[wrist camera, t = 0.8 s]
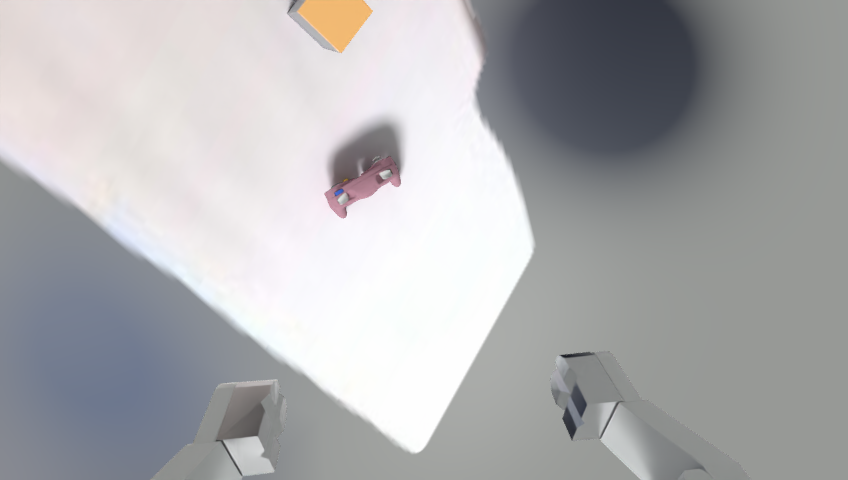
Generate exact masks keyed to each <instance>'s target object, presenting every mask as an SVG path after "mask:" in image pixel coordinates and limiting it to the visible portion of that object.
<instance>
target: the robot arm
mask: <svg viewBox="0 0 848 480" xmlns="http://www.w3.org/2000/svg"><path fill="white" fill-rule="evenodd" d="M555 364H556V366H557V369H555V370H554V371H553V372H552V374H551V378H550V383H551V391H552V395H553V398H554V400H555V403H556V404H557V405H558V406H559V407H560V408H562V409H563V410H564V414H563V418H562V419H563V421H564V424H565V426H566V428H567V430H568V433H569V435H570V437H571V440H572V441H577V440H590V439H601V440H600V441H602V442H603V443H604V444H605V445H606V446H607V447H608V448H609V449H610V450H611V451H612V452H613V453H614V454H615V455H616V456H617V457H618V458H619V459H620V460H621V461H622V462H623V463H624V464H625V465H626V466H627V467H628V468H629V469H630V470H631V471H632V472H633V473H634V474H636V475H637V476H638V477H639V478H640V479H641V480H751V478H750V477H749V476H748V474H747V473H746V472H745V470H744V469H743V468H742V466H741V465H740V464H739V463H738V462H736V461H735V460H734V459H732V458H731V457H729V456H728V455H727V454H725V453H724V452H722V451H721V450H719V449H718V448H716V447H715V446H714V445H712V444H711V443H709V442H708V441H706V440H705V439H703V438H702V437H700V436H699V435H698V434H696V433H695V432H693V431H692V430H690V429H689V428H688V427H686V426H685V425H683V424H682V423H680V422H679V421H677V420H676V419H675V418H673V417H672V416H670V415H669V414H667V413H666V412H664V411H663V410H662V409H660V408H659V407H657V406H656V405H654V404H653V403H651V402H650V401H648V400H642V398H641V397H640V395H639V394H638V392H637V391H636V389H635V388H634V386H633V385H632V383H631V382H630V380H629V378H628V377H627V375H626V374H625V372H624V371H623V369H622V368H621V366H620V365H619V363H618V362H617V360H616V358H615V357H614V356H613V354H612V353H611V352H610V351H599V352H584V353H574V354H565V355H559V356H558V357H557V358H556V361H555ZM279 390H280V384H279V382H278V380H264V381H250V382H234V383H222V384H219V385H218V387H217V388H216V389H215V391H214V393H213V396H212V398H211V401H210V403H209V405H208V408H207V410H206V412H205V415H204V417H203V420H202V422H201V425H200V427H199V430H198V432H197V434H196V437H195V439H194V441H193V444H187V445H186V446H185V447H184V448H182V449H181V450H180V451H179V452H178V453H177V454H176V455H175V456H174V457H173V458H172V459H171V460H170V461H169V462H168V463H167V464H166V465H165V466H164V467H163V468H162V469H161V470H160V471H159V472H158V473H157V474H156V475H155V476H154V477H152V478H151V479H150V480H242V476H247V475H256V474H263V473H271V472H275V469H276V464H277V460H278V455H279V451H280V444H279V442H278V439H277V438H278V437H279V435H280V434H281V433H282V432H283V431H284V428H285V423H286V413H287V407H286V401H285V398H284V396H283V395H281V394H280V393H279Z"/></svg>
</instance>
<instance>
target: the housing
mask: <svg viewBox="0 0 848 480" xmlns="http://www.w3.org/2000/svg"><path fill="white" fill-rule="evenodd" d="M372 12H373V11H372V10H371V8H370V7H369V6H368V5H367V4H366V3H365V2H364V1H363V0H297V1H296V2H295V4H294V5H293V6H292V8H291V9H290V11H289V12H288V13H287V14H288V15H289V16H290V17H291V18H292V19H293V20H294V21H295V22H296V23H298V24H299V25H300V26H301V27H302V28H303V29H304V30H305V31H306V32H307V33H308V34H309V35H310V36H311V37H312V38H313V39H314V40H316V41H317V42H318V43H319V44H320V45H321V46H322V47H323V48H325V49H329V50H332V51H336V52H339V53H342V52H343V50H344V49H345V48H346V46H347V45H348V44H349V42H350V41H351V40H352V38H353V37H354V36H355V34H356V33H357V32H358V30H359V29H360V28H361V26H362V25H363V24H364V22H365V21H366V20H367V18H368V17H369V16H370V14H371V13H372Z"/></svg>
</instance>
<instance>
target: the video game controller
mask: <svg viewBox="0 0 848 480" xmlns="http://www.w3.org/2000/svg"><path fill="white" fill-rule="evenodd" d="M380 157H381V156H376V157H375V158H373V160H372V162H373V161H375V162H374V163H373V165H372V166H371V167H370V168H369V169H367V171H365V172H364V173H362V174H361V176H360V177H358V178H356V179H355V178H353V179H351V180H348V179H345V180H344V181H343V183H339V184H337V185H335V186H333V187H332V188H331V189H330V190H329V191H327V192H326V193H325V196H326V198H327V200H328V203H329V206H330V207H331V209H332V210H333V211H334V212H335V213H336V214H337V215H338V216H339V217H341V218H346V216H347V211H346V208H345V207H346V206H348V205H350V204H352V203H354V202H356V201H357V200H360V199H364V198H367V197H369V196H371V195H373V194H374V193H375V192H376V191H377V190H378V188H380V187H381V186H383V185H385V184H387V183H388V182H389V181H390V182H391V183H392V185H394V186H395V187H399V186H400V184H401V180H400V175H399V171H398V168H397V167H396V164H395V163H394V161H393V159H392V158H391V156H390V157H387V158H384V159H379V158H380Z"/></svg>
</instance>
